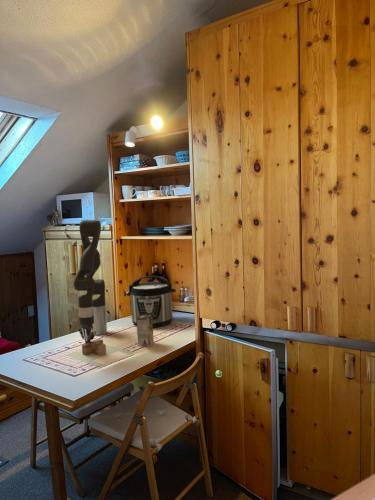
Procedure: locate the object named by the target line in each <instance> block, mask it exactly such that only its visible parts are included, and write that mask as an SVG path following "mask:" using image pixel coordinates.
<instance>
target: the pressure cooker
mask: <svg viewBox="0 0 375 500" xmlns="http://www.w3.org/2000/svg"><path fill="white" fill-rule="evenodd" d="M143 279H147V281H146V282H141V281H142V280H143ZM155 279H158V280H159V281H154V280H155ZM140 282H141V283H140ZM172 293H176V288H172V282H171V281H168V279H167V278H164V277H163V276H158V275H146V276H145V275H144V276H142V277H139V278H136V279H135V280H133V281H132V283H131V284H129V285H128V291H126V292H125V295H126V296H129V297H130V307H131V308H130V311H131V321H132V323H133V325H135V327H137V318H138V317H139V316H141V315H152V319H153V328H156V327H163V326H166V325H168V324H171V323H172V320H173V316H174V315H173V301H172V300H173V299H172Z"/></svg>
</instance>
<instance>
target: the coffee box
mask: <svg viewBox="0 0 375 500" xmlns="http://www.w3.org/2000/svg"><path fill="white" fill-rule="evenodd" d="M136 331H137V333H136V334H137V346H138V347H144V348H147V349H149V348H150V347H151V346H152V345H153V344H154V343H155V341H154V327H153V319H152V315H141V316H139V317H138V318H137V326H136Z"/></svg>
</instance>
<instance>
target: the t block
mask: <svg viewBox="0 0 375 500" xmlns="http://www.w3.org/2000/svg"><path fill="white" fill-rule="evenodd" d="M106 345H107V344H105V343H104V340H103V339H100V338H98V339H96V340H91V342H89V343H86V344H85V343H84V344H83V343H82V344H81V350H82V354H83V355H89V354H92V353H93V354H96V355H99V356H102V355H105V354H106Z"/></svg>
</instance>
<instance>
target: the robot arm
mask: <svg viewBox="0 0 375 500" xmlns="http://www.w3.org/2000/svg"><path fill="white" fill-rule="evenodd" d="M101 232H102V223H101V222H100V220H95V219H82V220H81V221H80V222H79V235H80V239H81V244H82V252H83V253H82V255H81V256H80V262H79V269H78V271H77V274H76V276H75V278H74V282H73V287H74V289H75V290H76V291H77V292H81V291H82V292H84V291H85V292H86V293H85V294H82V295H79V296H78V322H79V323H78V324H79V325H80V328H78V332H79V334H80V336H81V338H82V340H84V344H86V343H89V342H92V341H94V338H95V336H102V335H105V334H107V333H108V328H107V327H108V326H107V325H108V324H107V308H106V307H107V305H106V282H105V279H100V278H99V279H94V278H93V277H94V275H95V273H96V272H97V271H98V270H99V268H100V266H101V263H102V262H101V254H100V252H99V250H98V249H97V248H98V245H99V241H100V237H101ZM90 238H92V239H91V240H90ZM94 295H95V296H97V295H99V296H98V297H96V298H95V299H93V296H94Z"/></svg>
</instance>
